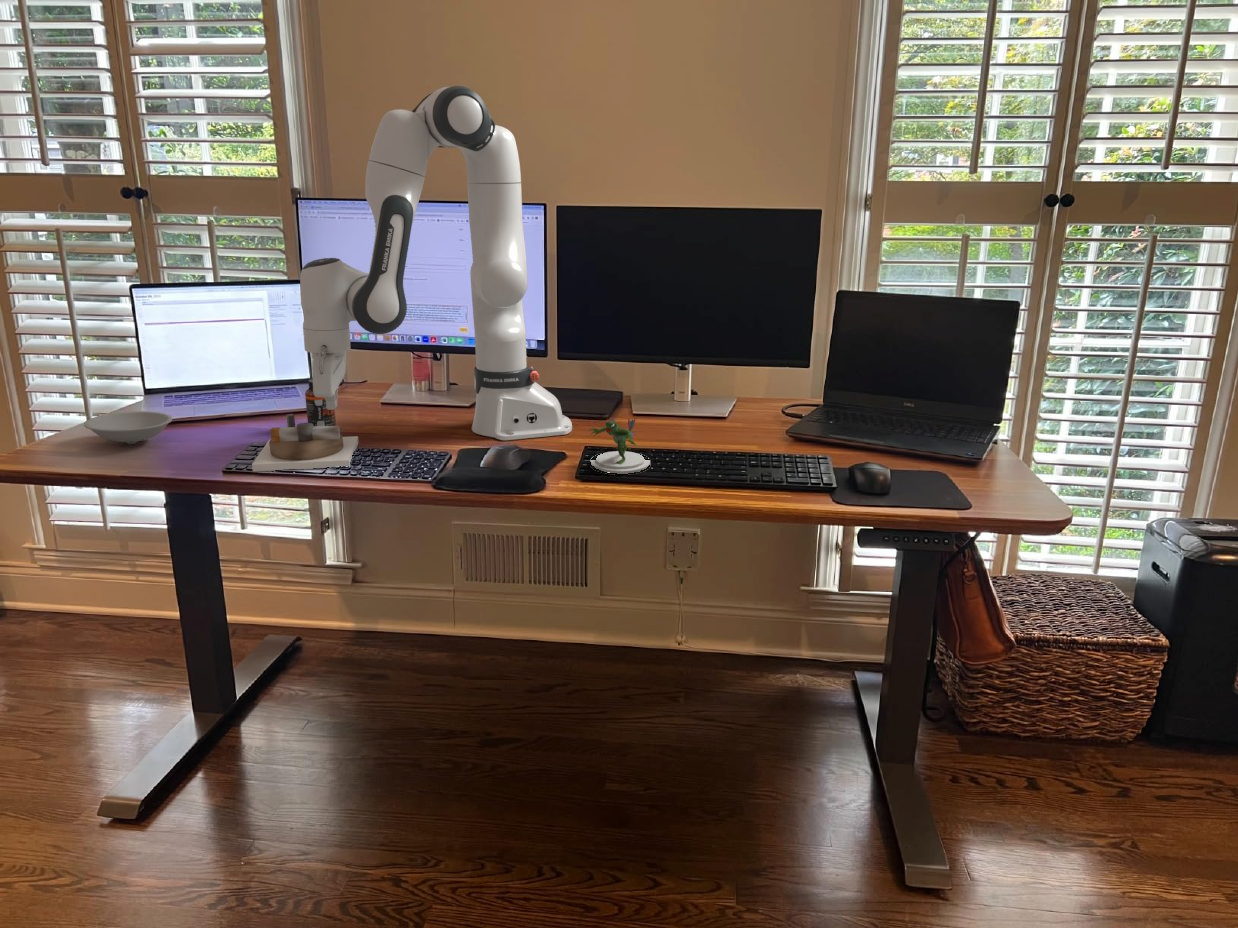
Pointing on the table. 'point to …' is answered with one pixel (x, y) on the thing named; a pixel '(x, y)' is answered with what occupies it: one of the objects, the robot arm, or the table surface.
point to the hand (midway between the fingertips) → (332, 408)
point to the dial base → (337, 459)
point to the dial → (305, 441)
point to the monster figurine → (619, 451)
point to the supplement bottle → (318, 409)
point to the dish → (128, 425)
